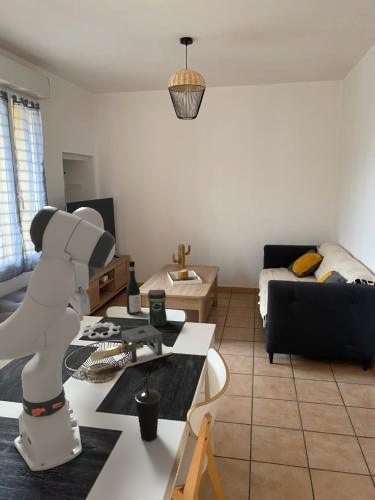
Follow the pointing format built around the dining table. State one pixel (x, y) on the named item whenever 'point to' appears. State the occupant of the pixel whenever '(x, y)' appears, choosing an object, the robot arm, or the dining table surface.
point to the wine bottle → (133, 293)
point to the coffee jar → (157, 307)
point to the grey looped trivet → (98, 325)
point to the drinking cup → (148, 412)
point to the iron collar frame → (148, 333)
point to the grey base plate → (145, 355)
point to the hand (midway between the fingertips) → (79, 318)
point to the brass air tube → (114, 351)
